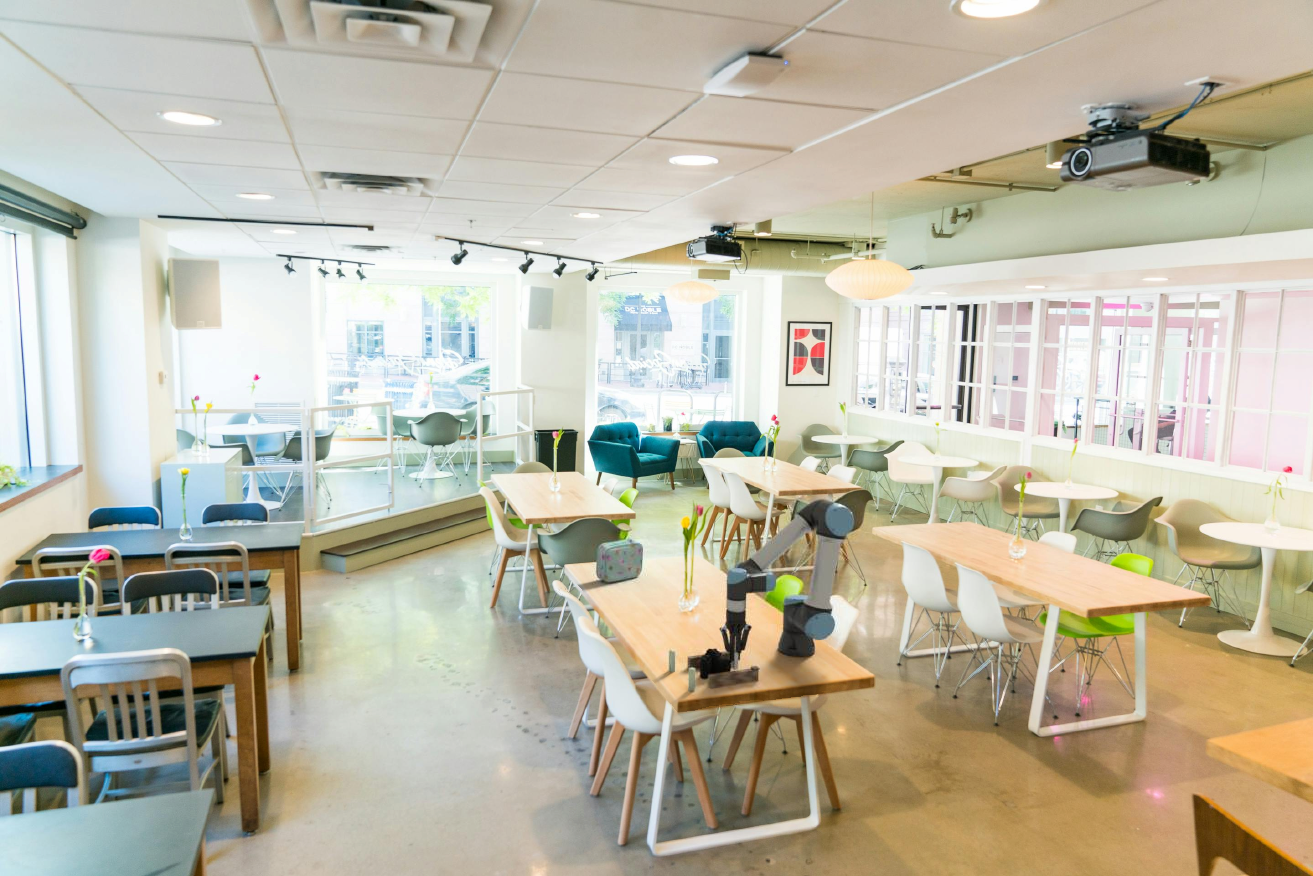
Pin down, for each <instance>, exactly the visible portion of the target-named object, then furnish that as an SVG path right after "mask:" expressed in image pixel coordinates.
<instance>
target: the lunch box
mask: <svg viewBox="0 0 1313 876" xmlns="http://www.w3.org/2000/svg"><path fill="white" fill-rule="evenodd" d="M643 552H644V547H643V544H642V543H641V542H638V541H636V540H633V538H632V539H631V538H626V539H621V540H615V541H609V542H603V543H601V544H600V545H599V546H598V548H597V551H596V568H595V573H596V576H597V579H599V580H602V581H604V582H605V583H609V584H610V583H615V582H620V581H626V580H631V579H633V578H637V577H639V576H640V575H641V573H642V570H643V559H644V553H643Z"/></svg>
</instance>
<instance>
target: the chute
mask: <svg viewBox="0 0 1313 876" xmlns="http://www.w3.org/2000/svg"><path fill="white" fill-rule="evenodd" d="M735 651H736V650H735ZM721 652H722V654H721V657H722V658H726V659H728V660H730V652H727V651H726V650H725V651H721ZM703 654H704V655H705V653H703ZM703 654H697V655H690V656H687V669H689V668H695V669H700V661H701V656H702V655H703ZM731 662H732V661H731ZM759 672H760V667H759V666H757V665H753V666H750V668H746V669H738V670H732V671H730V672H723V673H717V674H710V675H708V679H707V687H708V688H710V689H714V688H715V689H716V688H721V687H727V686H734V685H740V684H747V683H755V682H758V681H759Z"/></svg>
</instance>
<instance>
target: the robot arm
mask: <svg viewBox="0 0 1313 876" xmlns="http://www.w3.org/2000/svg"><path fill="white" fill-rule="evenodd" d="M854 517H855V516H854V514H853V512H852V511H851V510H850V508H848V507H846V506H845V505H843V504H841V503H838V502H835V501H831V500H829V499H826V498H821V499H816V500H813V501H811V502H810V503H807V504H806V505H805V506H804V507H802V508H801V509H800V510H799V511H797V512H796V513H795V514H794V518H793V519H792V520H791V521H790V522H789V523H788V524H787V525H785V526H784V527H783V528H782V529H781V530H780V531H779V532H778V533H776V534H775V535H774V536H773V537H772V538H770V540H768V541H767V542H766V543H765V544H764V545H763V546H762V547H760V549H758V550H757V551H756V552H755V553H754V554H752V556H750V557H749V558H748V559H747V560H746V561H738V562H737V563H736V564H734V566H733V568H730V569H728V570H727V574H726V599H725V600H726V601H725V603H726V605H725V606H726V607H725V608H726V609H725V612H726V613H725V623H724V626H722V627H721V626H720V627H719V631H720V633H721V636H722V641H723V645H724V649H725V651H727V652H730V660H731V661H732V662H731V669H733V671H737V670H739V661H740V660H741V654H742V651H745V650H746V647H747V642H748V638H749V634H750V631H751V630H752V626H751V625H750V624H749V623H747V621H746V620H747V619H746V617H747V614H746V613H747V610H746V609H747V594H756V593H767V592H773V591H775V589H776V588H777V577H776V575H775V573H774V572H772V571H766V569H768V567H770V566H771V565H772V564H773V563H774V562H775V561H776V560H778V559H779V558H780V557H781V556H782V555H783V554H785V553H786V552H787V551H788V550H789V549H790V548H791V547H793V546H794V545H795V544H796V543H797V542H798V541H799V540H800V539H802V537H804V536H805V535H806V534H807V533H809V534H810V533H812V532H814V530H815V535H816V537H817V538H818V541H817V547H816V553H815V556H814V557H815V558H814V563H813V568H812V573H811V579H810V584H809V585H810V586H809V589H808V594H791V595H787V596H785V597H784V599H783V607H782V608H783V610H782V611H783V614H782V616H783V617H782V632H781V635H780V638H779V641H778V644H777V650H778V652H780V653H782V654H783V655H787V656H791V657H799V658H801V657H802V658H803V657H810V656H811V655H814V654H815V652H816V645H815V641H823V640H826V639H827V638H828V637H829V636H831V635H832V634H833V633H834V631H835V626H836V620H835V619H834V617H833V615H832V613H833V605H832V604H831V602H830V601H831V596H832V591H833V588H834V587H833V586H834V581H835V575H836V570H837V564H838V560H839V555H840V554H839V553H840V548H841V544H842V543H843V542H844V541H846V539H847V535H849V534H850V532H852V530H853V528H854V525H855V518H854ZM728 633H729V636H728ZM814 640H815V641H814ZM735 650H736V651H735Z"/></svg>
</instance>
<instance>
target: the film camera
mask: <svg viewBox="0 0 1313 876" xmlns="http://www.w3.org/2000/svg"><path fill="white" fill-rule="evenodd" d="M722 652H723V651H719V650H718V649H717V648H716V647H715V648H708V649H706V651H705V653H702V654H701V655H702V656H701V661H700V668H699V678H700V679H702V680H708V675H710V674H717V673H723V672H730V671H731V670H732V668H731V660H728V659H726V658H722V657H721V654H722ZM704 654H705V655H704Z"/></svg>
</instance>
